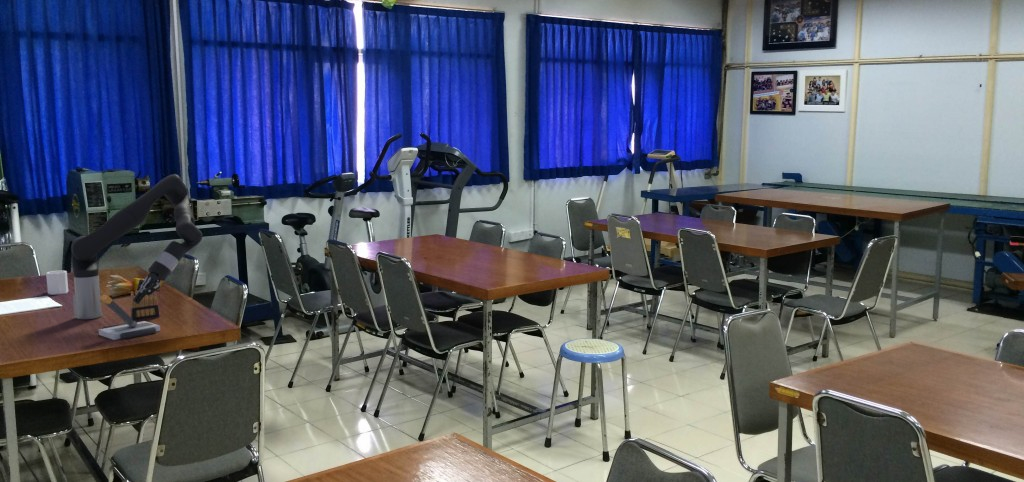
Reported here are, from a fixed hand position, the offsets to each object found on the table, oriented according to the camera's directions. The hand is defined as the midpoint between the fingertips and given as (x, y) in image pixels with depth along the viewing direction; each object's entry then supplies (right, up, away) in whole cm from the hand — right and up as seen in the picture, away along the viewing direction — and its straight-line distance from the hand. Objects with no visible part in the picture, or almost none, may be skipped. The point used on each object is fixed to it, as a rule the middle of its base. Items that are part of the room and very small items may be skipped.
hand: (135, 302), depth 339 cm
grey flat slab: (-2, -12, 0) cm, 12 cm away
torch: (-31, -1, +74) cm, 81 cm away
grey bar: (-8, -11, +5) cm, 14 cm away
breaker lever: (-1, -9, +1) cm, 9 cm away
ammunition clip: (-6, -8, +24) cm, 26 cm away
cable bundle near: (+4, -12, -5) cm, 14 cm away
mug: (-70, -1, +79) cm, 105 cm away
